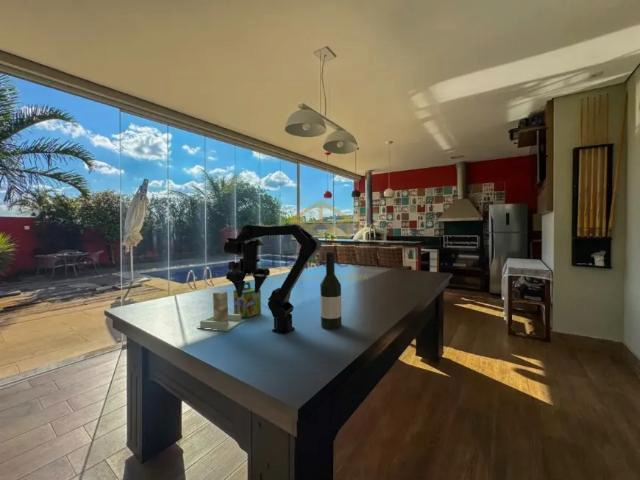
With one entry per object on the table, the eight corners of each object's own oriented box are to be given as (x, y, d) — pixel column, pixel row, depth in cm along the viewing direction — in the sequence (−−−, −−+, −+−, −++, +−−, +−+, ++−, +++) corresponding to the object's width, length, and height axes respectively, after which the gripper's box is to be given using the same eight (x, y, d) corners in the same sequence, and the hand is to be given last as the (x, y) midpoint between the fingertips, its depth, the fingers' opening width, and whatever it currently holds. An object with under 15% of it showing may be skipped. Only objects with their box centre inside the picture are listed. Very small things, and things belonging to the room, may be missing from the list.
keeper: (243, 321, 118) (243, 314, 118) (227, 331, 107) (227, 323, 107) (215, 319, 122) (215, 312, 122) (196, 328, 110) (196, 321, 110)
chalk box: (245, 318, 122) (245, 285, 122) (233, 315, 128) (232, 283, 127) (261, 313, 130) (261, 282, 129) (249, 310, 135) (248, 280, 135)
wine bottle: (340, 330, 106) (339, 252, 105) (318, 328, 108) (317, 252, 107) (342, 322, 114) (341, 250, 113) (323, 321, 116) (321, 250, 115)
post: (228, 322, 116) (227, 291, 115) (222, 325, 112) (221, 293, 111) (219, 321, 117) (219, 291, 116) (213, 324, 113) (213, 293, 113)
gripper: (251, 252, 121) (249, 287, 122) (217, 255, 105) (215, 295, 106) (271, 255, 116) (269, 292, 117) (238, 258, 100) (235, 301, 100)
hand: (248, 295), depth 110 cm, fingers open, 9 cm apart
